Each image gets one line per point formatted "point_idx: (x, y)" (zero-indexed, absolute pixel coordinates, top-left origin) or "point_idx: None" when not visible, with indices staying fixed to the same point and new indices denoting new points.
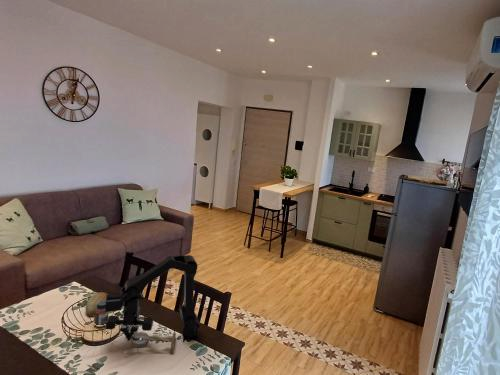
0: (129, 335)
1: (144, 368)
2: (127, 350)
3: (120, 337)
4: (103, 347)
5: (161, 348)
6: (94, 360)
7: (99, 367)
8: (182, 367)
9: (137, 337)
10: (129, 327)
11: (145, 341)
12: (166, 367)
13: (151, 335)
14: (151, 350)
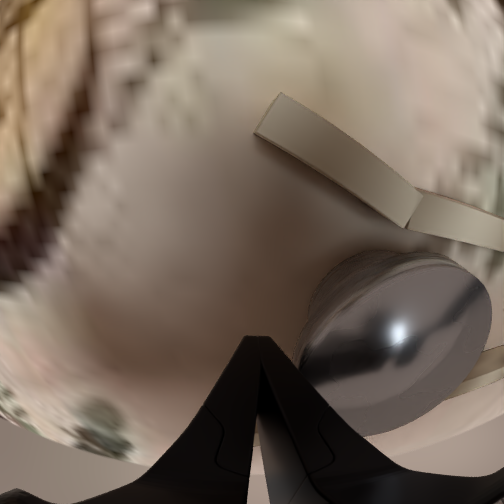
0: (269, 485)
1: None
2: (258, 435)
3: (120, 174)
4: (39, 322)
5: (492, 377)
6: (65, 413)
7: (120, 452)
8: (495, 411)
9: (374, 380)
10: (247, 492)
11: (434, 402)
12: (451, 430)
13: (497, 235)
14: None
